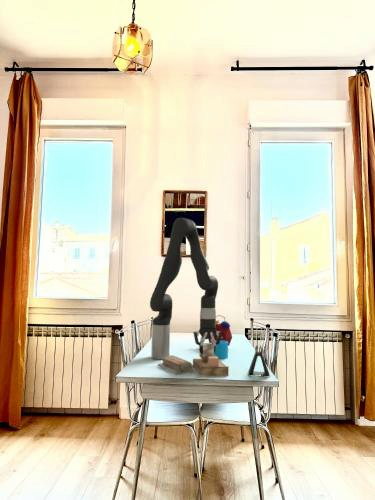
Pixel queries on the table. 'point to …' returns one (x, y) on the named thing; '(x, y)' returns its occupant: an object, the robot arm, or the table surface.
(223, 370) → the dock
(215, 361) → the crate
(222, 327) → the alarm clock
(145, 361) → the table surface
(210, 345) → the tan block
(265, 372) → the dark a-shaped stand
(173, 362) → the packaged product
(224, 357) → the mug
